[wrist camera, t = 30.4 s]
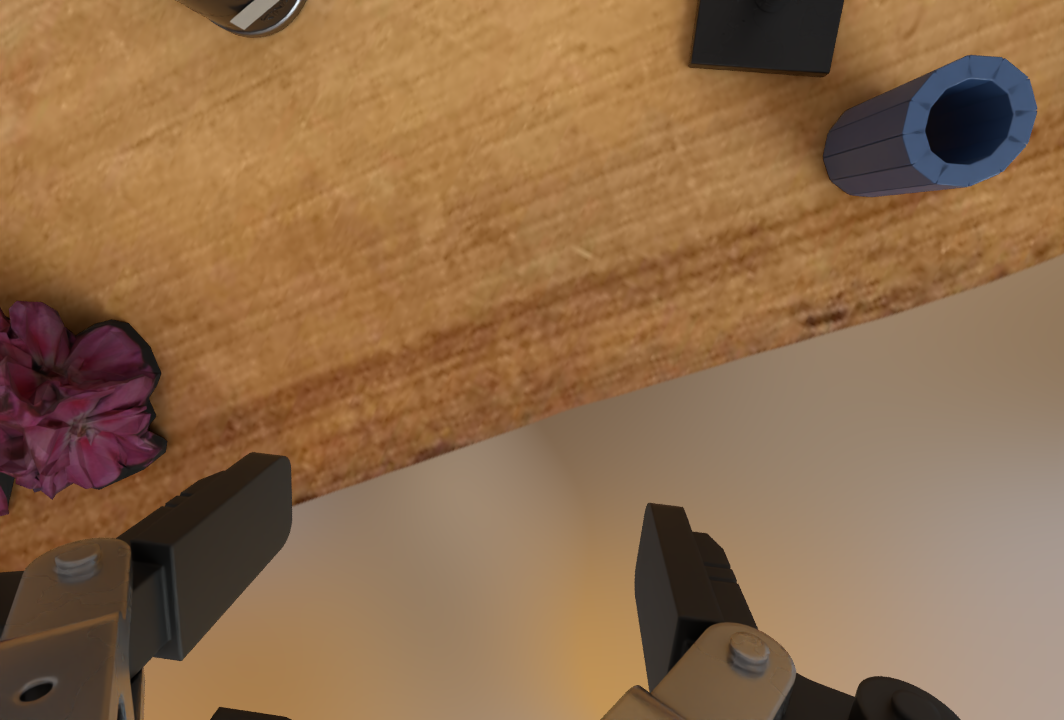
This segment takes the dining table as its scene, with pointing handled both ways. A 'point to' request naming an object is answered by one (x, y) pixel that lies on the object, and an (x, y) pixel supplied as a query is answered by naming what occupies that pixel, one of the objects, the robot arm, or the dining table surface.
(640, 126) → the dining table surface
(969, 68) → the blue fluted sleeve
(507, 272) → the dining table surface
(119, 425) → the flower arrangement
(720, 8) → the peg on square base
